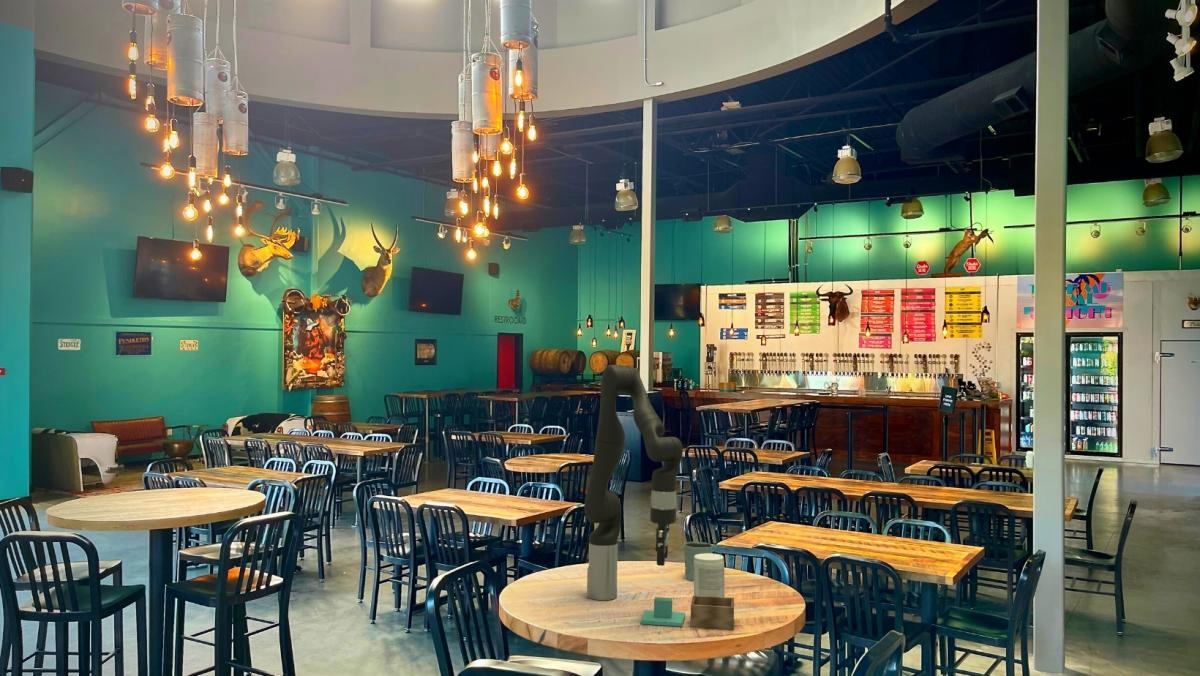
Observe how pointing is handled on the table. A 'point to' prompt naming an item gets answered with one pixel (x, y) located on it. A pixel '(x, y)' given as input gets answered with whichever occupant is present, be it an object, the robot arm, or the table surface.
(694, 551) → the grey green pot
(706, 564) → the supplement tub
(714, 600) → the crate
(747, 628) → the table surface
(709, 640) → the table surface
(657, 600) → the lid
